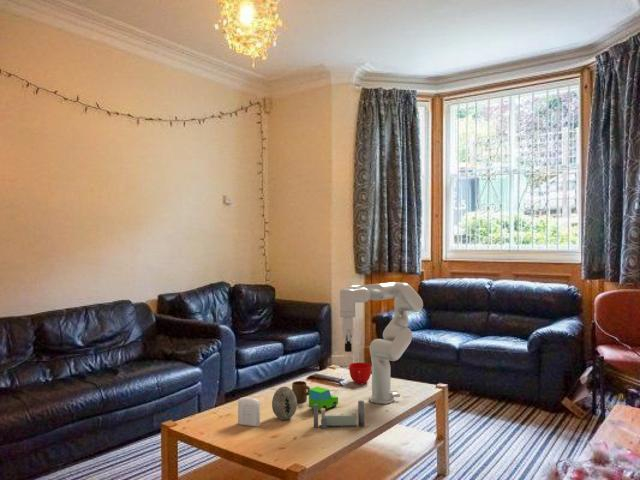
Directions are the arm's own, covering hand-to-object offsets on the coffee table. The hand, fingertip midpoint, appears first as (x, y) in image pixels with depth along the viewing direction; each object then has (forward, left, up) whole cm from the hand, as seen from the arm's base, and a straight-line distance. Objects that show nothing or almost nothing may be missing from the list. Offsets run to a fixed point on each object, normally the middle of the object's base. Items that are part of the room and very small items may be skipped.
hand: (348, 351), depth 243 cm
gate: (+6, +20, -28) cm, 35 cm away
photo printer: (+47, +15, -29) cm, 57 cm away
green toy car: (+12, -5, -29) cm, 32 cm away
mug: (+23, -14, -29) cm, 40 cm away
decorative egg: (+31, +9, -29) cm, 44 cm away
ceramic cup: (-10, -44, -29) cm, 54 cm away
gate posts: (+6, +21, -29) cm, 36 cm away
